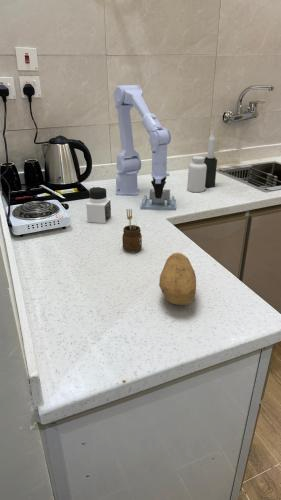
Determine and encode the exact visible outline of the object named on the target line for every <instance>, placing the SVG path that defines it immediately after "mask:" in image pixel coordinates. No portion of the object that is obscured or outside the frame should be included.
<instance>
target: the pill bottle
mask: <svg viewBox="0 0 281 500" xmlns="http://www.w3.org/2000/svg"><path fill="white" fill-rule="evenodd" d="M205 158H206V157H204V156H200V155H195V156H192V161H191V162H190V163H189V164H188V172H187V186H186V187H187V191H188V192H190V193H191V192H192V193H202V192H205V189H206V188H205V181H206V170H207V166H206V164H205V163H204V159H205Z"/></svg>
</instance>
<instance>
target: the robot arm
mask: <svg viewBox="0 0 281 500" xmlns="http://www.w3.org/2000/svg"><path fill="white" fill-rule="evenodd" d="M113 97H114V106H115V108H116V110H117V121H118V129H119V137H120V138H119V139H120V146H121V151H120V152H119V153H118V154H117V156H116V169H117V173H115V174H116V175H115V189H116V193H115V194H116V195H117V196H118V195H125V196H138V194H139V192H140V189H139V188H138V173H139V172H140V170H141V169H142V161H141V158H140V153H139V152H138V151H136V150H135V149H134V148H135V147H134V138H133V136H134V135H133V129H132V128H133V127H132V118H131V117H132V116H131V110H132V108H134V109H135V110H136V111H137V112H138V114H139V115H140V117H141V118H142V119H141V124H142V126H143V127H144V129H145V131H146V132H147V134H148V135H149V137H148V141H149V142H148V143H149V145H150V151H151V174H150V175H151V177H152V179H151V182H150V183H151V185H152V187H153V189H154V192H155V197H156V198H160V199H161V197H162V191H163V190H164V187H165V186H166V184H167V181H166V180H167V177H170V173H169V172H168V173H167V169H168V166H167V165H168V161H167V160H168V145H169V144H170V143H171V139H172V136H171V135H172V134H171V133H170V130H169V129H168V128H165V127H163V126H162V124H161V123H160V121H159V119H158V118H157V116H156V114H155V113H152V112H150V110H149V107H148V105H147V104H146V102H145V99H144V98H143V97H144V92H143V90H142V88H141V86H140V85H139V84H131V85H130V84H129V85H123V84H122V85H120V84H119V85H117V86H116V87H115V89H114V91H113Z"/></svg>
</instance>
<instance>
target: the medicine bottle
mask: <svg viewBox="0 0 281 500" xmlns="http://www.w3.org/2000/svg"><path fill="white" fill-rule="evenodd" d="M88 193H89V194H88V195H89V200H88V202H87V203H85V204H86V205H85V206H86V219H87V220H86V221H87V223H96V224H107V223H108V221H109V220H110V219H111V218H112V208H111V207H112V206H111V205H112V204H111V198H107V196H108V195H107V188H106V187H103V186H93V187H91V188H89V191H88Z"/></svg>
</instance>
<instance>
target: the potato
mask: <svg viewBox="0 0 281 500" xmlns="http://www.w3.org/2000/svg"><path fill="white" fill-rule="evenodd" d="M158 286H159V288H160V291H161V293H162V295H163V296H164V298H165V300H166V301H167V302H169V303H170V304H172V305H178V306H185V305H190V303H192V302H193V301H194V300H195V298H196V293H197V292H196V291H197V276H196V272H195V270H194V268H193V266H192V263H191V262H190V259H189V258H188V256H186V255H185V254H183V253H181V252H174V253H172V254H171V255H169V256H168V258H166V261H165V263H164V266H163V267H162V271H161V273H160V275H159V281H158Z"/></svg>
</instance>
